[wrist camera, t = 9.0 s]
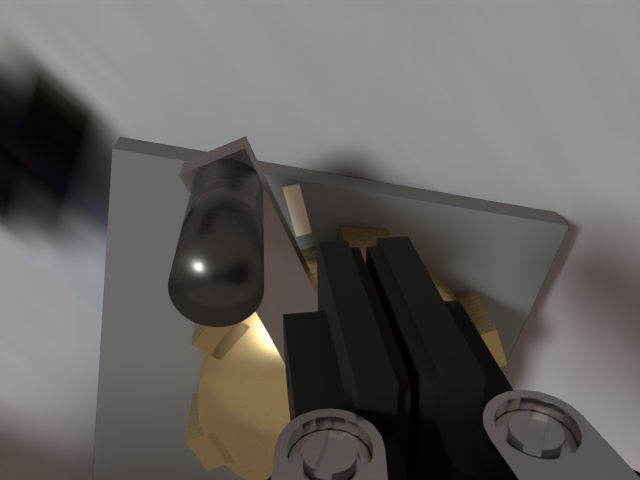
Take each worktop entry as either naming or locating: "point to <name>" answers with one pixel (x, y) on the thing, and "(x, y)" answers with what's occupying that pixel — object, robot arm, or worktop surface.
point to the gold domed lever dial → (252, 305)
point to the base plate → (308, 229)
